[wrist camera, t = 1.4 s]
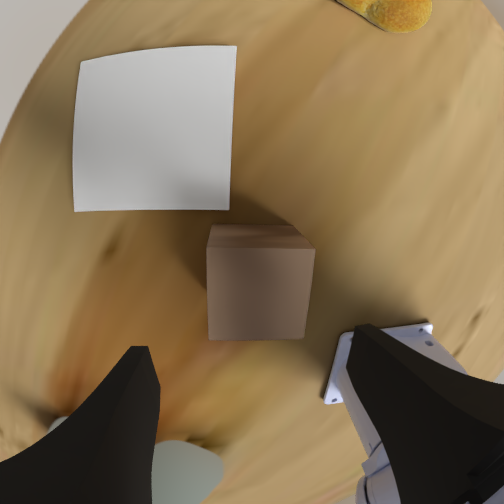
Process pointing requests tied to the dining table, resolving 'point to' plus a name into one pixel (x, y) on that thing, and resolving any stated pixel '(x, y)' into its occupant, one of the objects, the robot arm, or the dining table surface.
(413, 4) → the bread roll
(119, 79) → the grey tile
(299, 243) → the walnut block
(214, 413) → the dining table surface
